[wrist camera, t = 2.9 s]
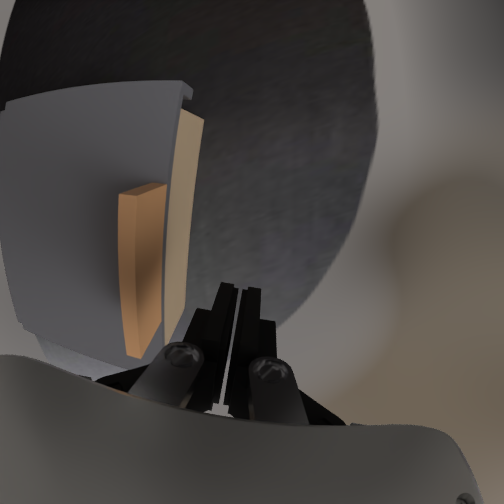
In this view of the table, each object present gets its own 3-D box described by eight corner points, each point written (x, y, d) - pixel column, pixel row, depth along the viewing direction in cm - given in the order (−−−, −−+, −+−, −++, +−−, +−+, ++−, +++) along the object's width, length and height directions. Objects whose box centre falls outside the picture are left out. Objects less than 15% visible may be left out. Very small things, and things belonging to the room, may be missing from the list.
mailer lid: (21, 103, 13) (-33, 103, 8) (193, 89, 13) (156, 60, 8) (33, 314, 19) (-3, 348, 14) (171, 359, 20) (149, 416, 14)
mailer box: (68, 119, 19) (15, 117, 12) (204, 119, 19) (175, 106, 12) (69, 280, 24) (29, 313, 18) (184, 307, 25) (161, 358, 18)
